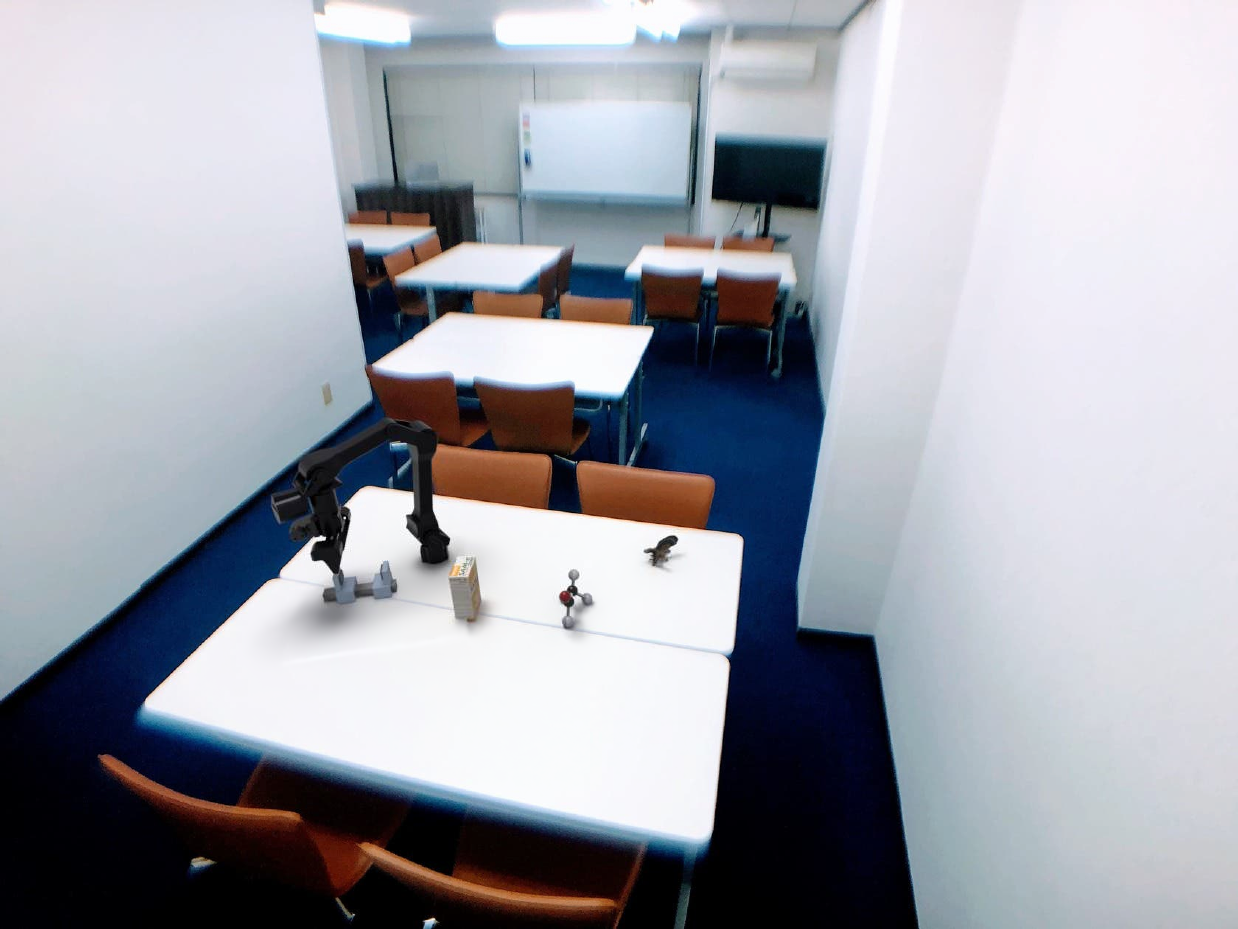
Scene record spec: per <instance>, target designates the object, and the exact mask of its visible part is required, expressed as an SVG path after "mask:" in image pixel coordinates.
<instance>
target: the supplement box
mask: <svg viewBox="0 0 1238 929" xmlns="http://www.w3.org/2000/svg"><path fill="white" fill-rule="evenodd" d="M476 558H477V557H476V556H468V555H467V556H456V557H455V561H454V563H453V565H452V568H451V570H450V572H449V573H450V574H449V575H448V581H449V582H448V584H449V589H450V595H451V600H452V605H453V611H454V618H455V619H466V621H467V622H475V621H476V617H477V614H478V613H477V612H478V609H479V606H480V604H481V601H482V596H481V590H480V588H481V587H480V580H479V575H478V574H479V573H478V565H477V559H476Z"/></svg>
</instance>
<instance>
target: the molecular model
mask: <svg viewBox="0 0 1238 929" xmlns="http://www.w3.org/2000/svg"><path fill="white" fill-rule="evenodd" d="M567 576H568V579H569V580H571V582H570V583H571V585H569V586H568V587H567V588H566V590H562V591H561V592H560V593H559V594H558V599H559V600H560V601H561V602H562V604H563V605H564V607H566V613H565V614H566V615H564V616H563V617H562V618H561V624H562V625H563V626H564V627H566V628H569V627H572V626H573V625H574V618H573V617H572V616H571V614H570V613H571V608H572V607H573V606H574V605H575V598H574V597H575V596H576V597H577V596H578V597H579V598H581V599H580V600H581V602H582V603H583V604H584V605H589V604H591V603H592V602H593V596H592V595H591V593H589V592H584V593H580V592H579V590H578V586H576V585H575V584H576V581H577V580H578V579H579V578H580V572H579V570H577V569H570V571H569V572H568V574H567Z"/></svg>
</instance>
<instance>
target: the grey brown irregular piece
mask: <svg viewBox="0 0 1238 929" xmlns="http://www.w3.org/2000/svg"><path fill="white" fill-rule="evenodd" d="M678 542H679V538H678V536H677V535H674V534H673V535H668V536H666V537H664V538H662V539H660V540H659V541H658V542H657V544H656V547H648V548H645V549H643V553H644V554H646V555H647V554H649V556H650V557H652V558H649V559H648V560H649V561H652V567H654V566H655V565H657V563H658V562H659V561H663V560H665V561H667V562H669V558H668V556H667V555H666V554H665V552H671V550H670V548H672V547H674V546H676V545H677V544H678Z"/></svg>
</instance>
